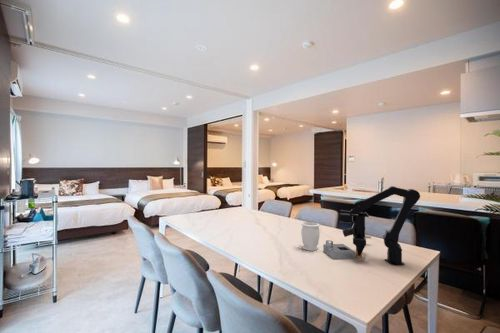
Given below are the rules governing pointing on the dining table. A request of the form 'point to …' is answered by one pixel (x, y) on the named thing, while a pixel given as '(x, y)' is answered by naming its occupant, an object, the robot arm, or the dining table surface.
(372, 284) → the dining table surface
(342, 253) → the grey slotted base
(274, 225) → the dining table surface
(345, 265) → the dining table surface
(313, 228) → the jar
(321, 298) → the dining table surface
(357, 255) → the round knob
